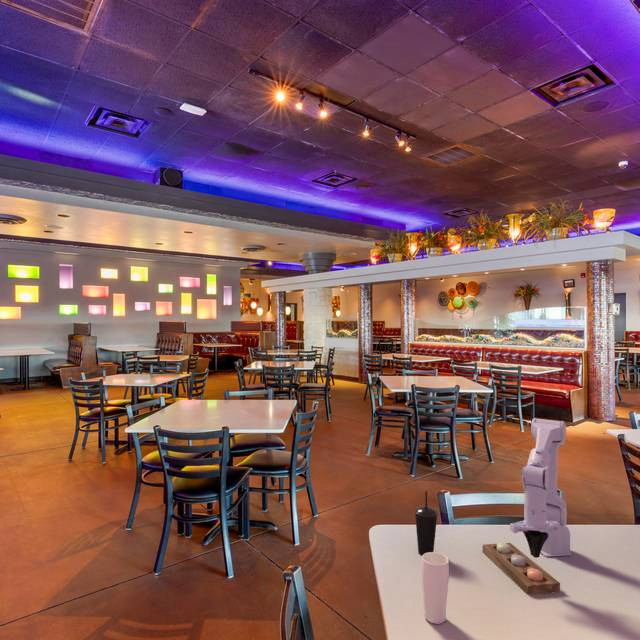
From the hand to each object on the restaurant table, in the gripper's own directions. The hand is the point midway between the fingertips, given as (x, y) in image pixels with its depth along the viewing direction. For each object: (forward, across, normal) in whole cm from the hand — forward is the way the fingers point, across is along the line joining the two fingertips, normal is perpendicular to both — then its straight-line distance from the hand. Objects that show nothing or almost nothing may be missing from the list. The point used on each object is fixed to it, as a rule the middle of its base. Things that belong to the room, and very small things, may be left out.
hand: (534, 555), depth 128 cm
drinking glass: (+9, -35, -10) cm, 37 cm away
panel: (+8, 0, +8) cm, 12 cm away
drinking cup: (+9, -24, +22) cm, 34 cm away
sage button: (+7, 0, +16) cm, 18 cm away
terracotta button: (+7, 0, 0) cm, 7 cm away
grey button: (+7, 0, +8) cm, 11 cm away
